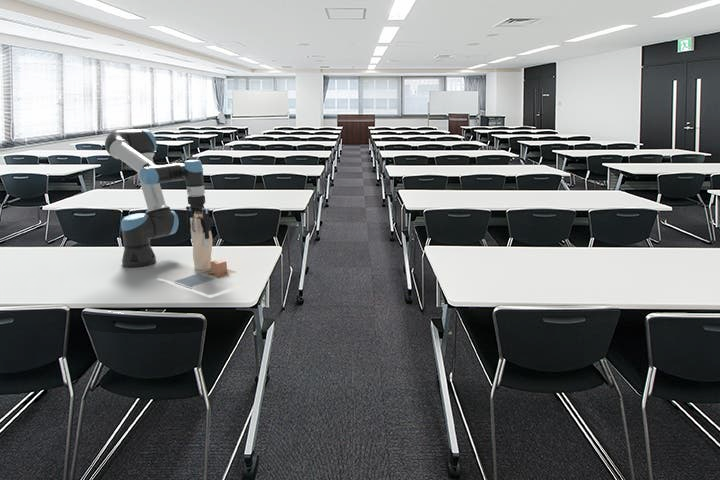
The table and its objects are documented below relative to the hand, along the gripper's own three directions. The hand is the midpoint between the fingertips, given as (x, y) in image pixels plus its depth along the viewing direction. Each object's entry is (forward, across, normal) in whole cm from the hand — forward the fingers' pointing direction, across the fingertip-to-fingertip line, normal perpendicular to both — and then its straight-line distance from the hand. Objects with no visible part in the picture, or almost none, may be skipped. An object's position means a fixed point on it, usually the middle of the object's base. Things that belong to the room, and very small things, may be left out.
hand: (200, 243), depth 239 cm
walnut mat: (+12, +12, 0) cm, 17 cm away
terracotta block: (+11, +12, 0) cm, 17 cm away
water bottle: (+12, 0, 0) cm, 12 cm away
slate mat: (+12, +12, -13) cm, 22 cm away
